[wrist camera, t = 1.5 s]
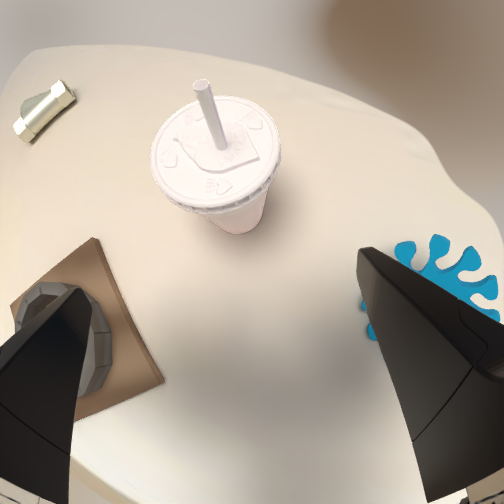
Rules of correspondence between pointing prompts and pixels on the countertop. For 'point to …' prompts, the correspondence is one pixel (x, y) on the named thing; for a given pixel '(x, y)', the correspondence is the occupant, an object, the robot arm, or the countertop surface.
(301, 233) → the countertop surface
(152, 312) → the countertop surface
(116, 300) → the collar stand
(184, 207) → the smoothie
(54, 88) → the pipe fitting
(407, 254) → the gear
